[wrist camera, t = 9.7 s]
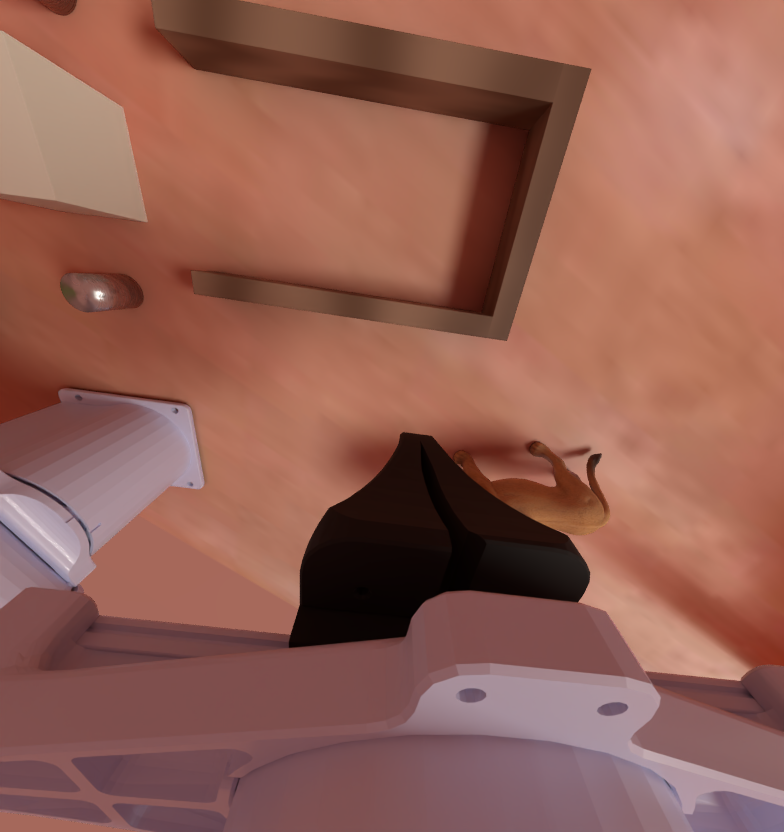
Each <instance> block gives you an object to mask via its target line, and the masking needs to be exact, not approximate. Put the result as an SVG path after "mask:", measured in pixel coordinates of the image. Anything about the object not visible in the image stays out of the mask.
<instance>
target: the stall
mask: <svg viewBox="0 0 784 832" xmlns="http://www.w3.org/2000/svg"><path fill="white" fill-rule="evenodd" d="M151 2H152V9H153V16H154V23H155V28H156V29H157V30H158V31H159V32H160V33H161V34H162V35H163V36H164V37H165V38H166V39H167V41H168V42H169V43H170V44H171V45H172V46H173V47H174V48H175V49H176V50H177V51H178V52H179V53H180V54H181V55H182V56H183V57H184V58H185V59H186V60H187V61H188V62H189V64H190V65H191V66H192V67H193V68H194V69H198V70H203V71H209V72H214V73H220V74H225V75H231V76H236V77H241V78H247V79H252V80H258V81H263V82H269V83H274V84H280V85H285V86H291V87H296V88H302V89H307V90H312V91H318V92H323V93H329V94H334V95H340V96H345V97H351V98H356V99H362V100H367V101H372V102H378V103H383V104H389V105H394V106H400V107H405V108H411V109H416V110H422V111H427V112H433V113H438V114H443V115H449V116H454V117H460V118H465V119H471V120H476V121H482V122H487V123H493V124H498V125H503V126H509V127H514V128H520V129H525V130H529V133H528V137H527V141H526V144H525V148H524V152H523V156H522V160H521V163H520V167H519V171H518V175H517V179H516V183H515V186H514V190H513V194H512V198H511V202H510V205H509V209H508V213H507V217H506V221H505V225H504V228H503V232H502V236H501V240H500V244H499V247H498V251H497V255H496V259H495V263H494V267H493V270H492V274H491V278H490V282H489V286H488V289H487V293H486V297H485V301H484V305H483V309H482V312H474V311H468V310H461V309H455V308H448V307H442V306H435V305H429V304H422V303H416V302H409V301H403V300H397V299H390V298H384V297H377V296H371V295H364V294H358V293H351V292H345V291H338V290H332V289H325V288H319V287H312V286H306V285H299V284H293V283H286V282H280V281H273V280H267V279H260V278H254V277H247V276H241V275H234V274H228V273H222V272H211V271H194V270H191V276H192V283H193V289H194V294H198V295H205V296H211V297H218V298H225V299H231V300H238V301H245V302H251V303H258V304H264V305H271V306H278V307H284V308H291V309H298V310H304V311H311V312H318V313H324V314H331V315H338V316H344V317H351V318H357V319H364V320H371V321H377V322H384V323H391V324H397V325H404V326H411V327H417V328H424V329H431V330H437V331H444V332H450V333H457V334H464V335H470V336H477V337H484V338H490V339H497V340H504V341H507V339H508V336H509V332H510V329H511V326H512V323H513V319H514V316H515V313H516V310H517V307H518V303H519V300H520V297H521V294H522V291H523V287H524V284H525V281H526V278H527V274H528V271H529V268H530V265H531V262H532V258H533V255H534V252H535V249H536V245H537V242H538V239H539V236H540V233H541V229H542V226H543V223H544V220H545V217H546V213H547V210H548V207H549V204H550V200H551V197H552V194H553V191H554V188H555V184H556V181H557V178H558V175H559V172H560V168H561V165H562V162H563V159H564V155H565V152H566V149H567V146H568V143H569V139H570V136H571V133H572V130H573V127H574V123H575V120H576V117H577V114H578V110H579V107H580V104H581V101H582V98H583V94H584V91H585V88H586V85H587V81H588V78H589V75H590V72H591V69H590V68H584V67H579V66H574V65H569V64H564V63H559V62H554V61H548V60H543V59H538V58H533V57H528V56H523V55H518V54H512V53H507V52H502V51H497V50H492V49H487V48H482V47H476V46H471V45H466V44H461V43H456V42H451V41H446V40H440V39H435V38H430V37H425V36H420V35H415V34H410V33H404V32H399V31H394V30H389V29H384V28H379V27H374V26H368V25H363V24H358V23H353V22H348V21H343V20H338V19H332V18H327V17H322V16H317V15H312V14H307V13H302V12H296V11H291V10H286V9H281V8H276V7H271V6H266V5H260V4H255V3H250V2H245V1H240V0H151Z"/></svg>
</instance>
